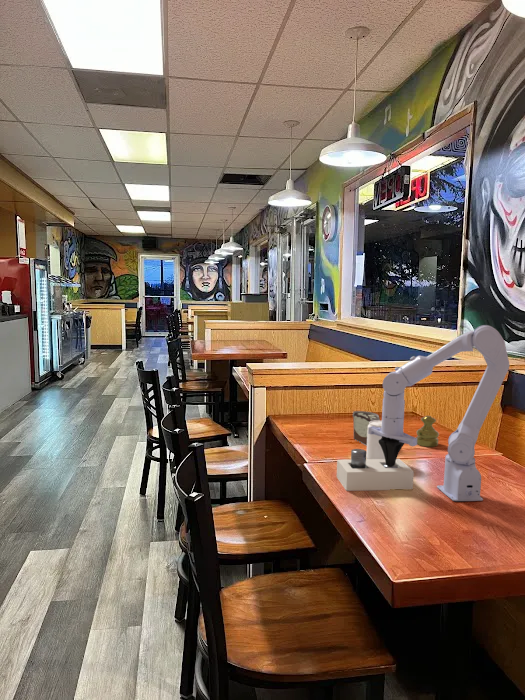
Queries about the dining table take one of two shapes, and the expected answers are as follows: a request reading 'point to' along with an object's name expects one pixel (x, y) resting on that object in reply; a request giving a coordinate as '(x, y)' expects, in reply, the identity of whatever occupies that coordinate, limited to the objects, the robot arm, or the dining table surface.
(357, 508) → the dining table surface
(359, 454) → the peg
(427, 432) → the olive green tiered piece
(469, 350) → the robot arm
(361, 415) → the food container
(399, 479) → the bore block
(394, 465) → the peg
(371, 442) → the beverage can
